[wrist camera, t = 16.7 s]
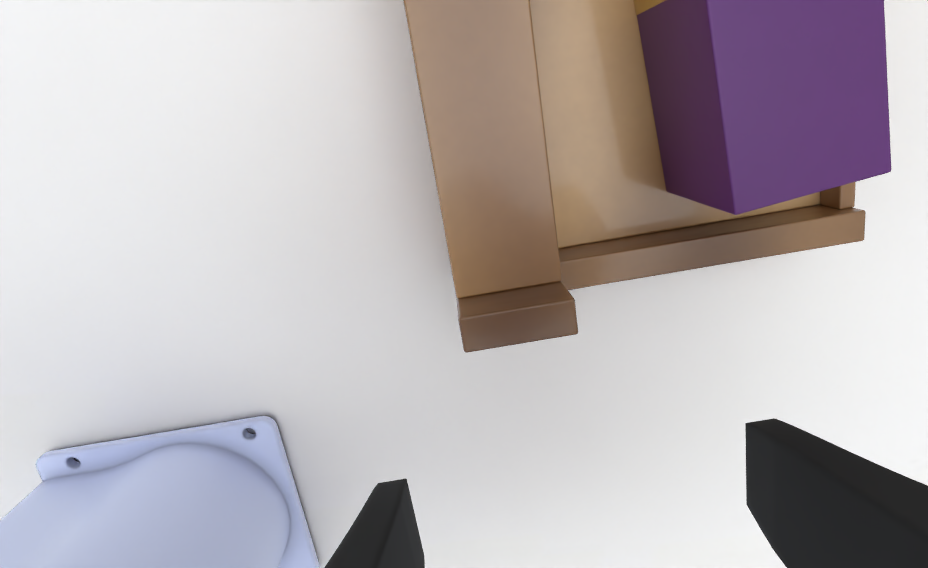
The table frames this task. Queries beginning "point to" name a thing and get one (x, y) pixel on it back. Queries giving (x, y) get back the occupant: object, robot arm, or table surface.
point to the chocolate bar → (766, 96)
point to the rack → (568, 166)
